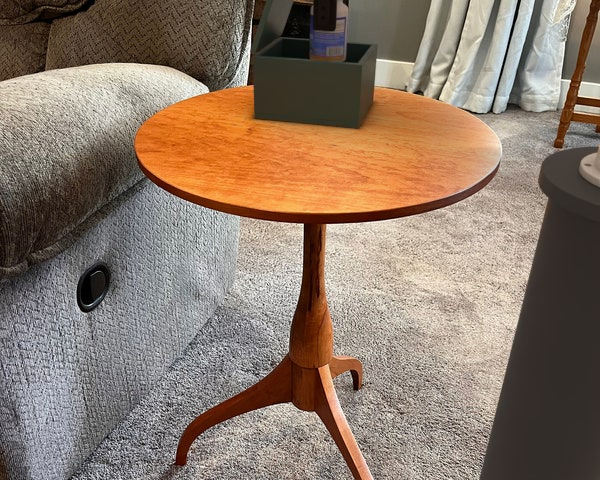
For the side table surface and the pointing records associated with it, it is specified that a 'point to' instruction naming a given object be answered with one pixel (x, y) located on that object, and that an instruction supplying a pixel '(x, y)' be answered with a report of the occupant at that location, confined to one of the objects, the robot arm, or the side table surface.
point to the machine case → (313, 84)
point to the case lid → (271, 23)
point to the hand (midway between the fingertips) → (329, 24)
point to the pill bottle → (330, 38)
